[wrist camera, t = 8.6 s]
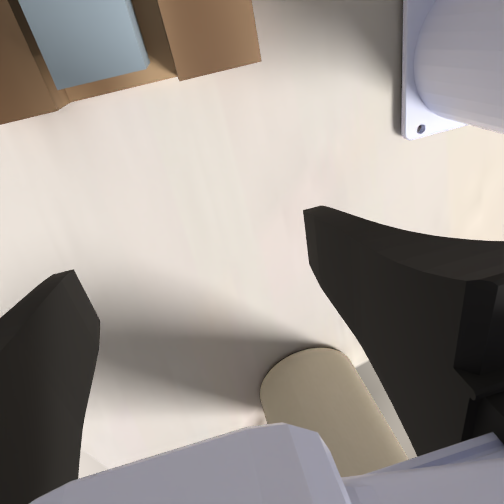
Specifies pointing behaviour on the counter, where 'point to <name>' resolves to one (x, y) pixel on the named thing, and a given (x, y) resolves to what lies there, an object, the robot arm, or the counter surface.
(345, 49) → the counter surface
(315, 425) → the travel mug
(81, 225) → the counter surface
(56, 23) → the pale blue tapered bar
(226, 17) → the slot block
